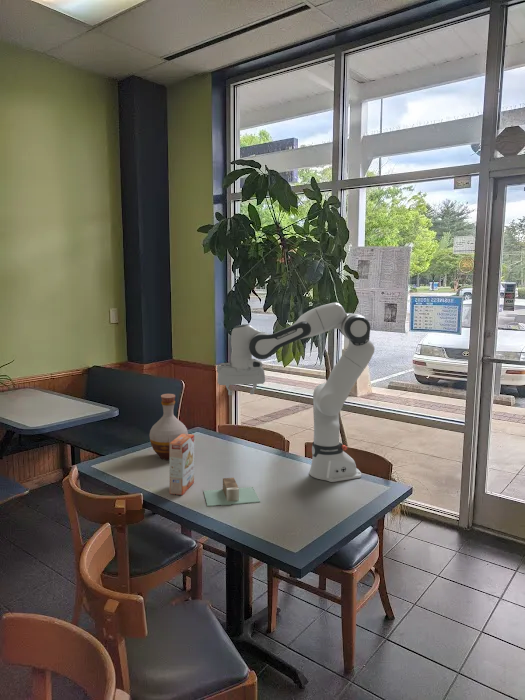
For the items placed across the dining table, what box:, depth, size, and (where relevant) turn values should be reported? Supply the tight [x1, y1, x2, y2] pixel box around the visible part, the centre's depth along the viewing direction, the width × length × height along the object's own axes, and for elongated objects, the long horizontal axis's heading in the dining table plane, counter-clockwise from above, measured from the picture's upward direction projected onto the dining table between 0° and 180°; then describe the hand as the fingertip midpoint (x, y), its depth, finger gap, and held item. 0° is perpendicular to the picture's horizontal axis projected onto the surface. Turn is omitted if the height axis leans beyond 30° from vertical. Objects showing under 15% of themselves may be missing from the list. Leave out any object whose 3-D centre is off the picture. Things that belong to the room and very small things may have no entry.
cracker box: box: [169, 433, 195, 496], centre depth 210 cm, size 14×6×21 cm, turn 168°
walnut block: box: [222, 477, 240, 501], centre depth 205 cm, size 4×4×12 cm
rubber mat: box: [203, 486, 261, 507], centre depth 204 cm, size 20×14×1 cm
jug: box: [149, 393, 189, 461], centre depth 248 cm, size 20×18×30 cm
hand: (241, 394), depth 224 cm, fingers open, 8 cm apart
